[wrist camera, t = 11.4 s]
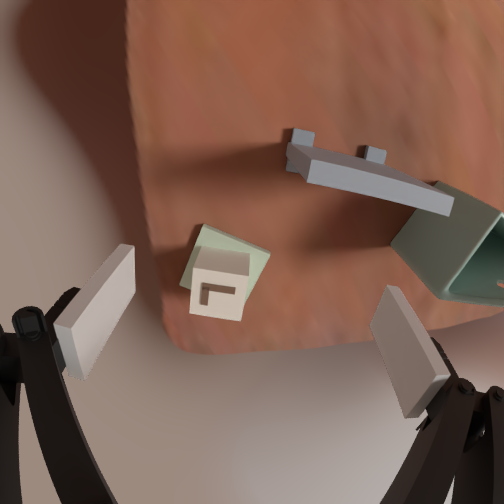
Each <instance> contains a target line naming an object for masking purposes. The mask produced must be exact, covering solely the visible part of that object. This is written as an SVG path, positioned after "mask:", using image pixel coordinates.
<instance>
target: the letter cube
mask: <svg viewBox="0 0 504 504" xmlns="http://www.w3.org/2000/svg"><path fill="white" fill-rule="evenodd" d="M249 266H250V253H246V252H240V251H233V250H227V249H220V248H214V247H208V246H202V247H201V249H200V252H199V254H198V257H197V259H196V262H195V264H194V267H193V275H192V287H191V300H190V313H191V314H197V315H203V316H209V317H216V318H222V319H229V320H236V321H241V318H242V312H243V307H244V301H245V296H246V290H247V285H248V279H249Z"/></svg>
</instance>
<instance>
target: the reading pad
mask: <svg viewBox="0 0 504 504" xmlns="http://www.w3.org/2000/svg"><path fill="white" fill-rule="evenodd" d="M202 246H208V247H214V248H220V249H227V250H233V251H240V252H246V253H250V266H249V279H248V285H247V290H246V296H245V301H244V304H245V302H246V300H247V298H248V296H249V295H250V293H251V291H252V289H253V287H254V285H255V283H256V281H257V280H258V278H259V276H260V274H261V272H262V270H263V268H264V266H265V264H266V262H267V261H268V259H269V257H270V255H271V254H270V251H268V250H266V249H263V248H261V247H259V246H256V245H254V244H251V243H249V242H247V241H244V240H242V239H240V238H237V237H235V236H233V235H230V234H228V233H225V232H223V231H221V230H218V229H216V228H214V227H211V226H209V225H206V224H203V226H202V229H201V231H200V234H199V236H198V239H197V241H196V244H195V246H194V249H193V251H192V254H191V256H190V259H189V261H188V264H187V266H186V269H185V271H184V274H183V276H182V279H181V282H180V284H179V285H180V286H183V287H185V288H187V289H190V290H191V287H192V275H193V267H194V264H195V262H196V259H197V257H198V254H199V252H200V249H201V247H202Z"/></svg>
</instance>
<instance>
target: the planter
mask: <svg viewBox="0 0 504 504" xmlns="http://www.w3.org/2000/svg"><path fill="white" fill-rule="evenodd" d="M433 187H434V188H437V189H439V190H441V191H443V192H445V193H446V194H448V195H450V196H452V197H454V198H455V199H454V202H453V205H452V209H451V212H450V215H449V217H448V216H445V215H441V214H438V213H434V212H431V211H427V210H423V209H420V208H417V209H416V210H415V211H414V213H413V214H412V216H411V217H410V218H409V220H408V221H407V222H406V224H405V225H404V226H403V228H402V229H401V230H400V231H399V232H398V234H397V235H396V236H395V237H394V239H393V240H392V241H391V244H390V246H391V247H392V248H393V249H394V250H395V251H396V252H397V254H398V255H399V256H400V257H401V258H402V259H403V260H404V261H405V262H406V264H407V265H408V266H409V267H410V268H411V269H412V270H413V271H414V273H415V274H416V275H417V276H418V277H419V278H420V279H421V281H422V282H423V283H424V284H425V285H426V286H427V288H428V289H429V290H430V291H431V292H432V293H433V294H434V295H435V296H436V297H437V298H438V299H441V300H447V301H455V302H462V303H469V304H478V305H487V306H496V307H504V288H502V287H500V286H498V285H497V284H498V283H503V284H504V214H503V212H502V211H500V210H498V209H496V208H494V207H492V206H490V205H489V204H487V203H485V202H483V201H481V200H479V199H477V198H475V197H473V196H471V195H469V194H467V193H465V192H463V191H461V190H459V189H456V188H454V187H452V186H450V185H448V184H445V183H443V182H441V181H438V182H437V183H436V184H435V185H434V186H433Z"/></svg>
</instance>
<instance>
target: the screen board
mask: <svg viewBox="0 0 504 504" xmlns="http://www.w3.org/2000/svg"><path fill="white" fill-rule="evenodd" d="M314 136H315V133H314V132H310V131H305V130H300V129H296V128H293V132H292V137H291V142H288V145H287V150H286V156H287V164H286V169H285V170H286V171H289V172H294V173H300V174H301V175H302V177H303V178H304V179H305V181H306V182H308V183H313V184H318V185H323V186H327V187H332V188H337V189H342V190H346V191H351V192H355V193H360V194H364V195H368V196H372V197H377V198H381V199H385V200H389V201H393V202H397V203H401V204H405V205H408V206H412V207H416V208H420V209H423V210H427V211H431V212H434V213H438V214H441V215H445V216H448V217H449V215H450V212H451V209H452V205H453V202H454V199H455V198H454V197H452V196H450V195H448V194H446V193H445V192H443V191H441V190H439V189H437V188H434V187H432V186H430V185H428V184H426V183H424V182H422V181H420V180H418V179H416V178H414V177H411V176H409V175H407V174H405V173H403V172H400V171H398V170H396V169H394V168H391V167H389V166H387V165H384V162H385V158H386V153H387V151H385V150H381V149H378V148H374V147H371V146H367V145H366V149H365V153H364V158H359V157H355V156H351V155H347V154H343V153H339V152H334V151H330V150H326V149H321V148H316V147H312V146H313V141H314Z"/></svg>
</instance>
